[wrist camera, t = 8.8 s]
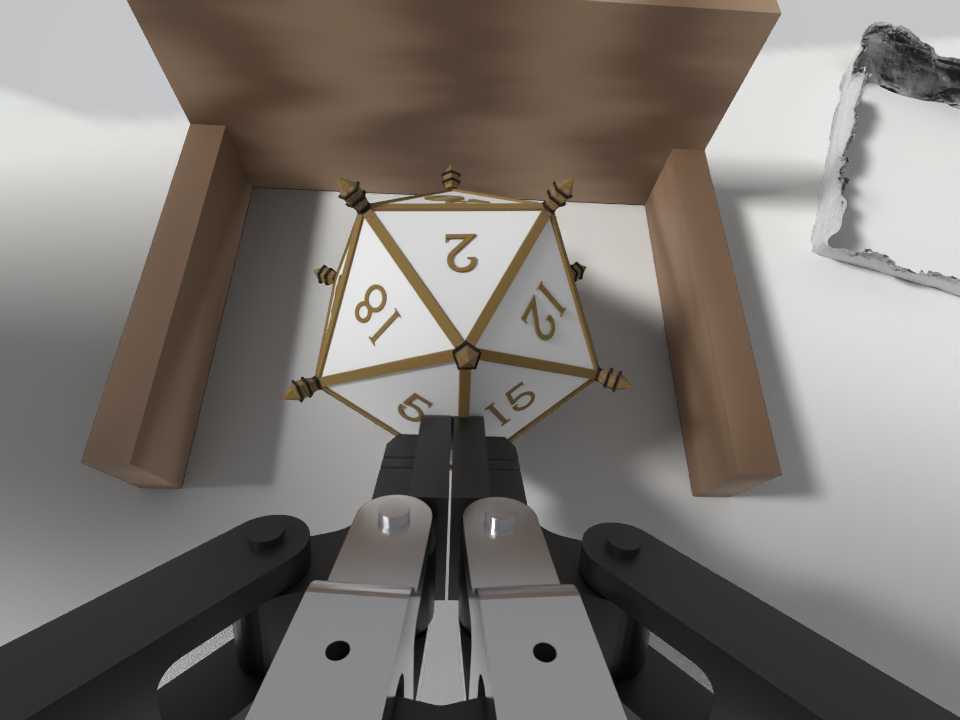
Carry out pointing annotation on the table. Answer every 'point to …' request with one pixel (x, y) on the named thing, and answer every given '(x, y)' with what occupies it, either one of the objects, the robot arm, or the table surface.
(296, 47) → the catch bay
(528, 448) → the table surface
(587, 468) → the table surface
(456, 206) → the game die
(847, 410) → the table surface
